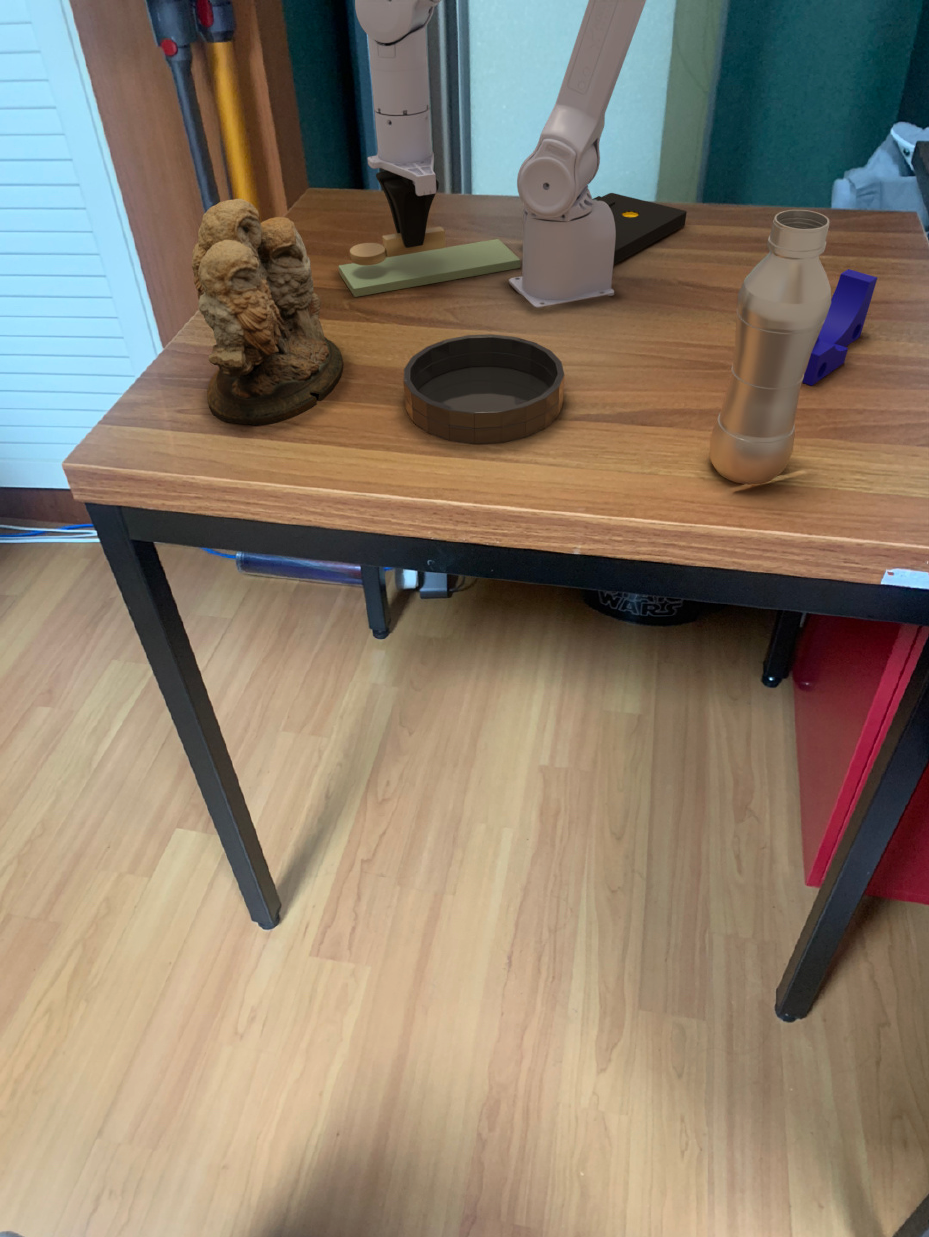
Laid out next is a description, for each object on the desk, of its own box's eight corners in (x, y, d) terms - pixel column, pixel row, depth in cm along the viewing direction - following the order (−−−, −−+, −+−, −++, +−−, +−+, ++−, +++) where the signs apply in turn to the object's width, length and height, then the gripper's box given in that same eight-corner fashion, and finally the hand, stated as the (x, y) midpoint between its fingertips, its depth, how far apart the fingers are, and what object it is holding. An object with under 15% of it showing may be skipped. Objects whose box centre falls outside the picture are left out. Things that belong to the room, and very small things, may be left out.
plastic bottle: (788, 455, 74) (854, 206, 60) (782, 502, 70) (851, 243, 56) (710, 443, 76) (757, 198, 62) (698, 488, 71) (746, 233, 57)
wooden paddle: (355, 268, 99) (353, 249, 97) (346, 255, 101) (344, 237, 100) (449, 252, 101) (448, 234, 100) (438, 240, 104) (437, 222, 103)
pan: (525, 357, 88) (526, 323, 86) (588, 428, 78) (590, 392, 76) (387, 385, 85) (384, 351, 82) (435, 462, 75) (433, 426, 73)
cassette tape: (609, 207, 117) (611, 190, 116) (685, 226, 112) (688, 208, 110) (524, 249, 108) (524, 231, 106) (602, 273, 102) (604, 254, 101)
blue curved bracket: (811, 385, 82) (827, 324, 78) (768, 370, 85) (782, 309, 81) (874, 341, 88) (892, 281, 84) (832, 327, 91) (848, 269, 87)
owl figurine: (305, 442, 78) (270, 244, 66) (180, 431, 80) (124, 237, 68) (362, 346, 91) (341, 167, 79) (253, 339, 92) (217, 162, 81)
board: (498, 247, 109) (498, 238, 108) (520, 268, 104) (520, 259, 103) (339, 274, 104) (338, 265, 103) (354, 297, 99) (353, 288, 99)
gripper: (346, 96, 96) (360, 226, 105) (384, 132, 86) (395, 272, 95) (409, 88, 97) (417, 217, 107) (453, 123, 87) (457, 261, 97)
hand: (411, 242), depth 101 cm, fingers closed on wooden paddle, 1 cm apart
